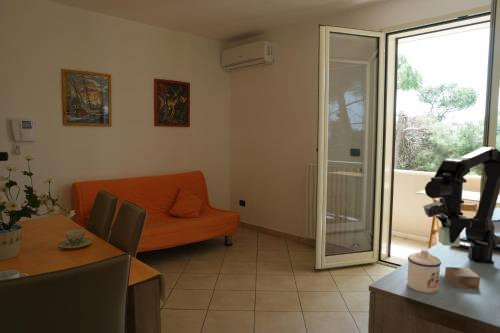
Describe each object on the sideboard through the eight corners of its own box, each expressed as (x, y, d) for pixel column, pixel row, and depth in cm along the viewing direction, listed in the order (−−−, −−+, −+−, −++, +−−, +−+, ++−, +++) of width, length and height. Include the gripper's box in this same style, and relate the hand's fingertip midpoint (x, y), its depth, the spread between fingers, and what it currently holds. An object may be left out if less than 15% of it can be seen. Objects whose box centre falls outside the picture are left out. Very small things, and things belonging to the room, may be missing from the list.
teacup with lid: (432, 296, 102) (435, 258, 101) (401, 286, 109) (403, 250, 107) (446, 284, 110) (449, 248, 109) (416, 275, 117) (418, 241, 116)
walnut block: (467, 279, 114) (468, 268, 114) (479, 289, 107) (479, 277, 107) (444, 278, 115) (445, 266, 115) (454, 288, 108) (455, 275, 108)
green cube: (453, 241, 124) (454, 227, 123) (459, 246, 119) (460, 231, 118) (438, 240, 125) (439, 227, 124) (443, 245, 120) (444, 231, 119)
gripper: (419, 190, 131) (416, 231, 132) (435, 200, 112) (432, 247, 114) (451, 191, 129) (448, 233, 130) (474, 201, 110) (470, 250, 112)
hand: (449, 240), depth 122 cm, fingers closed on green cube, 5 cm apart
